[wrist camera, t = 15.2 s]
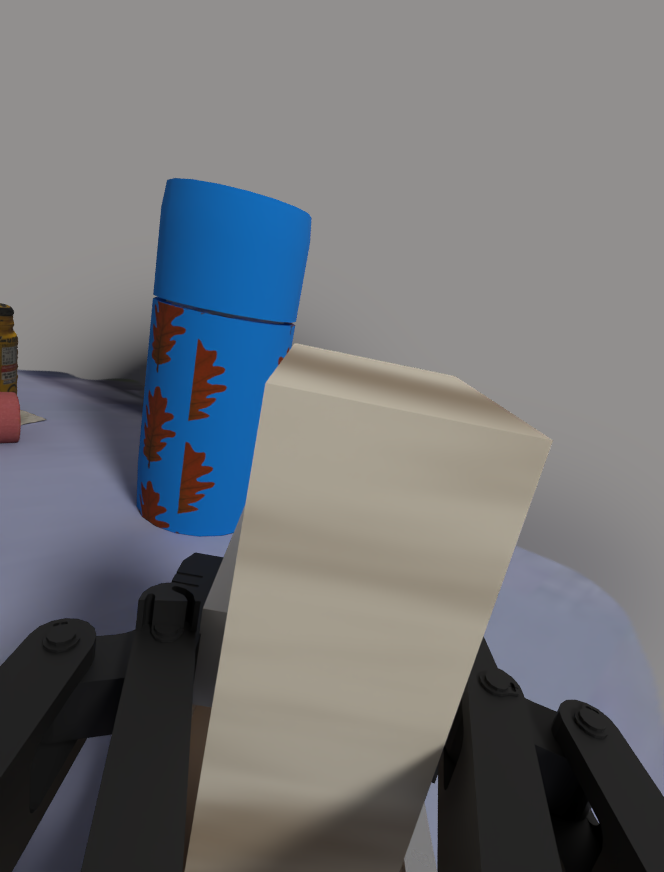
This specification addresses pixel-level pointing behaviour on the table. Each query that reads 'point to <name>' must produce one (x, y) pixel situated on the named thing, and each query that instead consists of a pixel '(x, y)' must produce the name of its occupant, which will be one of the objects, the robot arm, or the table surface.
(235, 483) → the thermos
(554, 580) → the table surface
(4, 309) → the condiment
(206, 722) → the floor track
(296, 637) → the pale wooden block
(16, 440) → the blood vessel
